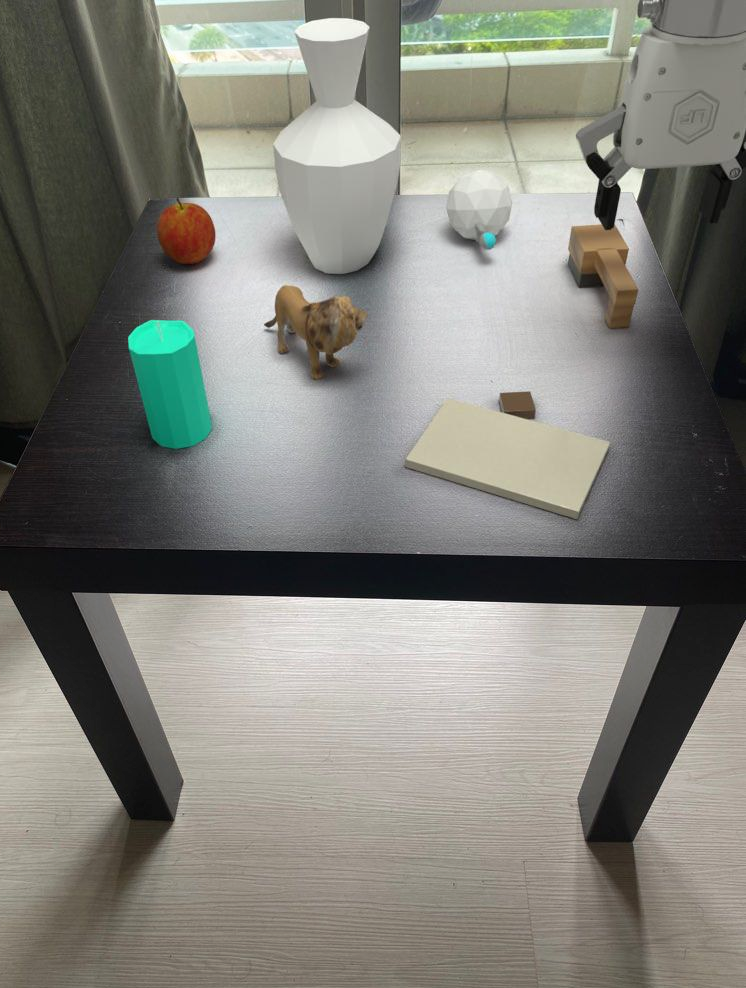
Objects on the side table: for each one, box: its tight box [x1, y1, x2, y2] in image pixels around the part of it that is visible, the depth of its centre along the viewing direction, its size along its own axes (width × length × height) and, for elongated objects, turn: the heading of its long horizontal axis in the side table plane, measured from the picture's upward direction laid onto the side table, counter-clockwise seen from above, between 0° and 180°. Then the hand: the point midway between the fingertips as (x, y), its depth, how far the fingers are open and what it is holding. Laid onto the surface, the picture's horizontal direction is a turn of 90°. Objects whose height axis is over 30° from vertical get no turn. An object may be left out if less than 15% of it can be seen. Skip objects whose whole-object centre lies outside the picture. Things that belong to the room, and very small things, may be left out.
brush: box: [567, 223, 639, 329], centre depth 94 cm, size 14×5×5 cm, turn 3°
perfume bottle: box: [445, 168, 513, 251], centre depth 103 cm, size 8×8×12 cm
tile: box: [404, 397, 611, 520], centre depth 77 cm, size 16×10×1 cm, turn 63°
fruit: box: [156, 197, 216, 265], centre depth 102 cm, size 7×7×8 cm
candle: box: [127, 319, 213, 450], centre depth 78 cm, size 6×6×12 cm
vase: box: [272, 17, 402, 275], centre depth 95 cm, size 14×14×25 cm
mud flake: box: [498, 391, 537, 419], centre depth 82 cm, size 3×3×1 cm
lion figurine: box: [263, 284, 368, 380], centre depth 87 cm, size 15×5×9 cm, turn 44°
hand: (656, 220), depth 79 cm, fingers open, 9 cm apart
